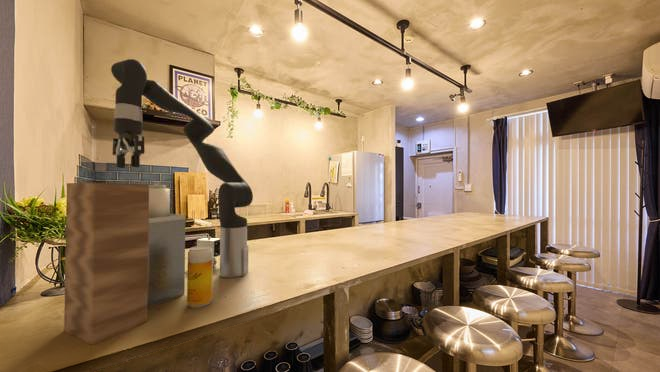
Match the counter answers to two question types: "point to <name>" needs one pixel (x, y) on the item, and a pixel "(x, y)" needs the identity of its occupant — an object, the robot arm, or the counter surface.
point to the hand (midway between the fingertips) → (127, 167)
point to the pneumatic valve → (210, 242)
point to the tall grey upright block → (166, 258)
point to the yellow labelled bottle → (200, 276)
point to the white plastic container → (159, 201)
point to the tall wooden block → (106, 259)
